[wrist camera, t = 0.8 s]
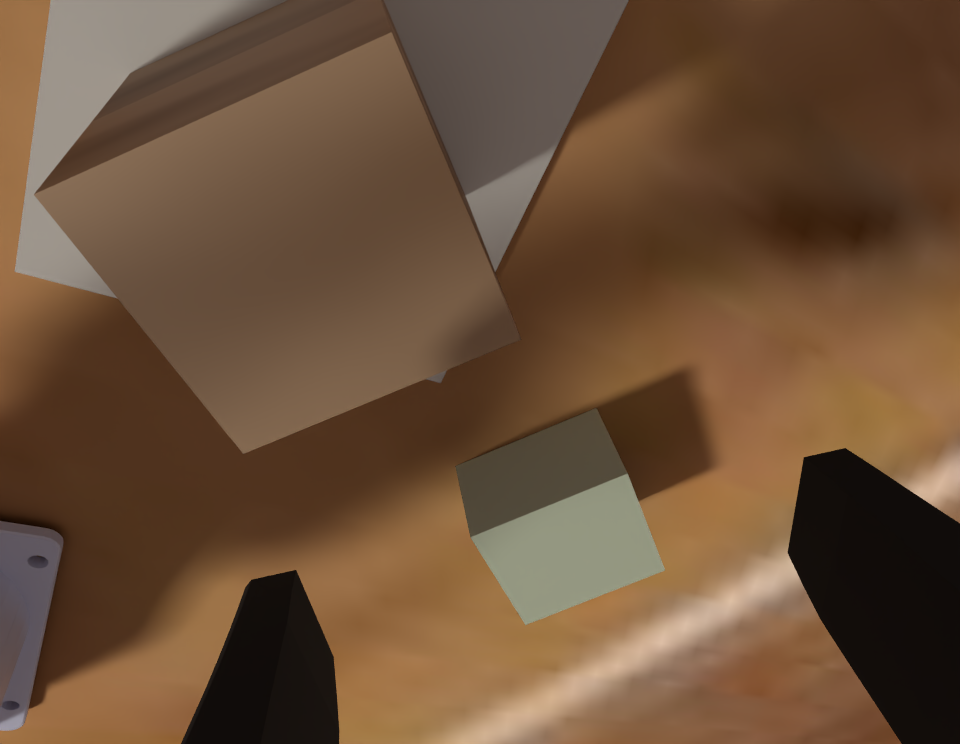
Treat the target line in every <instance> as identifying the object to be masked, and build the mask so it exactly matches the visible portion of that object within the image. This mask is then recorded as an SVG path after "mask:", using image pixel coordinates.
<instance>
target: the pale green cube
mask: <svg viewBox="0 0 960 744" xmlns="http://www.w3.org/2000/svg"><path fill="white" fill-rule="evenodd" d="M456 471H457V476H458V480H459V485H460V490H461V495H462V499H463V504H464V509H465V514H466V518H467V523H468V528H469V533H470V537H471V539H472V540H473V542H474V544H475V545H476V547H477V548H478V550H479V552H480V553H481V555H482V556H483V558H484V560H485V561H486V563H487V564H488V566H489V567H490V569H491V571H492V572H493V574H494V575H495V577H496V579H497V580H498V582H499V583H500V585H501V587H502V588H503V590H504V591H505V593H506V595H507V596H508V598H509V599H510V601H511V602H512V604H513V606H514V607H515V609H516V610H517V612H518V614H519V615H520V617H521V618H522V620H523V622H524V623H525V625H527V624H529V623H532V622H534V621H537V620H539V619H542V618H545V617H547V616H550V615H552V614H555V613H557V612H560V611H562V610H565V609H567V608H570V607H573V606H575V605H578V604H580V603H583V602H585V601H588V600H590V599H593V598H596V597H598V596H601V595H603V594H606V593H608V592H611V591H613V590H616V589H619V588H621V587H624V586H626V585H629V584H631V583H634V582H636V581H639V580H642V579H644V578H647V577H649V576H652V575H654V574H657V573H659V572H662V571H665V569H664V566H663V564H662V561H661V559H660V556H659V553H658V551H657V548H656V546H655V543H654V540H653V538H652V535H651V533H650V530H649V527H648V525H647V522H646V520H645V517H644V515H643V512H642V509H641V507H640V504H639V502H638V499H637V496H636V494H635V491H634V489H633V486H632V484H631V481H630V478H629V476H628V473H627V471H626V469H625V467H624V465H623V463H622V461H621V459H620V456H619V454H618V452H617V450H616V448H615V446H614V444H613V442H612V440H611V438H610V435H609V433H608V431H607V429H606V427H605V425H604V423H603V421H602V419H601V416H600V414H599V412H598V410H597V408H595V409H593V410H590V411H588V412H585V413H583V414H580V415H578V416H576V417H573V418H571V419H568V420H566V421H564V422H561V423H559V424H556V425H554V426H551V427H549V428H547V429H544V430H542V431H539V432H537V433H535V434H532V435H530V436H527V437H525V438H522V439H520V440H518V441H515V442H513V443H510V444H508V445H506V446H503V447H501V448H498V449H496V450H493V451H491V452H489V453H486V454H484V455H481V456H479V457H477V458H474V459H472V460H469V461H467V462H464V463H462V464H460V465H457V466H456Z"/></svg>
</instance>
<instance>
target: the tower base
mask: <svg viewBox="0 0 960 744" xmlns="http://www.w3.org/2000/svg"><path fill="white" fill-rule="evenodd" d="M353 1H355V0H287V1H285V2H283V3H281V4H279V5H277V6H274V7H272V8H270V9H268V10H266V11H264V12H261V13H259V14H257V15H255V16H253V17H251V18H249V19H246V20H244V21H242V22H240V23H238V24H236V25H233V26H231V27H229V28H227V29H225V30H223V31H220V32H218V33H216V34H214V35H212V36H210V37H207V38H205V39H203V40H201V41H199V42H197V43H195V44H192V45H190V46H188V47H186V48H184V49H182V50H179V51H177V52H175V53H173V54H171V55H169V56H166V57H164V58H162V59H160V60H158V61H156V62H154V63H151V64H149V65H147V66H145V67H143V68H141V69H138V70H136V71H134V72H132V73H130V74H129V75H128V77H127V78H126V79H125V80H124V82H123V83H122V84H121V85H120V87H119V88H118V89H117V90H116V92H115V93H114V94H113V96H112V97H111V98H110V99H109V101H108V102H107V103H106V104H105V106H104V107H103V108H102V109H101V111H100V112H99V113H98V114H97V116H96V117H95V118H94V119H93V121H94V120H97V119H99V118H101V117H103V116H105V115H107V114H110V113H112V112H114V111H116V110H118V109H121V108H123V107H125V106H127V105H129V104H131V103H134V102H136V101H138V100H140V99H142V98H144V97H147V96H149V95H151V94H153V93H155V92H158V91H160V90H162V89H164V88H166V87H168V86H171V85H173V84H175V83H177V82H179V81H181V80H184V79H186V78H188V77H190V76H192V75H195V74H197V73H199V72H201V71H203V70H205V69H208V68H210V67H212V66H214V65H216V64H218V63H221V62H223V61H225V60H227V59H229V58H231V57H234V56H236V55H238V54H240V53H242V52H245V51H247V50H249V49H251V48H253V47H255V46H258V45H260V44H262V43H264V42H266V41H268V40H271V39H273V38H275V37H277V36H279V35H282V34H284V33H286V32H288V31H290V30H292V29H295V28H297V27H299V26H301V25H303V24H305V23H308V22H310V21H312V20H314V19H316V18H319V17H321V16H323V15H325V14H327V13H329V12H332V11H334V10H336V9H338V8H340V7H342V6H345V5H347V4H349V3H351V2H353ZM382 2H383V5H384V7H385V9H386V12H387V14H388V17H389V19H390V21H391V24H392V26H393V28H394V31H395V33H396V36H397V38H398V40H399V43H400V45H401V48H402V50H403V52H404V55H405V57H406V59H407V62H408V64H409V67H410V69H411V71H412V74H413V76H414V79H415V81H416V83H417V86H418V88H419V90H420V93H421V95H422V98H423V100H424V102H425V105H426V107H427V110H428V112H429V114H430V117H431V119H432V121H433V124H434V126H435V129H436V131H437V133H438V136H439V138H440V141H441V143H442V145H443V148H444V150H445V153H446V155H447V157H448V160H449V162H450V164H451V167H452V169H453V172H454V174H455V176H456V179H457V181H458V184H459V186H460V188H461V191H462V193H463V195H464V198H465V200H466V203H467V205H468V207H469V210H470V212H471V215H472V217H473V219H474V216H473V214H472V211H471V209H470V206H469V204H468V201H467V198H466V196H465V193H464V191H463V189H462V186H461V184H460V181H459V179H458V177H457V174H456V172H455V169H454V167H453V165H452V162H451V160H450V157H449V155H448V153H447V150H446V148H445V145H444V143H443V141H442V138H441V136H440V134H439V131H438V129H437V126H436V124H435V122H434V119H433V117H432V114H431V112H430V110H429V107H428V105H427V102H426V100H425V98H424V95H423V93H422V90H421V88H420V86H419V83H418V81H417V78H416V76H415V74H414V71H413V69H412V66H411V64H410V62H409V59H408V57H407V54H406V52H405V50H404V47H403V45H402V42H401V40H400V38H399V35H398V33H397V31H396V28H395V26H394V23H393V21H392V19H391V16H390V14H389V11H388V9H387V7H386V4H385V2H384V0H382ZM474 222H475V219H474ZM475 224H476V222H475ZM476 226H477V224H476ZM477 229H478V227H477ZM478 231H479V229H478ZM479 234H480V232H479ZM480 236H481V234H480ZM481 238H482V237H481ZM482 241H483V240H482ZM483 243H484V242H483ZM484 246H485V245H484ZM485 248H486V247H485ZM487 253H488V252H487Z"/></svg>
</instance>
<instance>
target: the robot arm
mask: <svg viewBox="0 0 960 744" xmlns="http://www.w3.org/2000/svg"><path fill="white" fill-rule="evenodd" d="M63 544H64V542H63V538H62V536H61V535H60V534H59V533H57V532H56V531H54V530H52V529H48V528H43V527H36V526H30V525H23V524H17V523H10V522H4V521H0V730H5V731H6V730H15V729H18V728H20V727H21V726H23V724H24V723H25V720H26V717H27V713H28V709H29V704H30V699H31V695H32V690H33V685H34V680H35V676H36V671H37V666H38V662H39V657H40V652H41V647H42V643H43V638H44V633H45V629H46V624H47V619H48V614H49V610H50V605H51V600H52V596H53V591H54V586H55V582H56V577H57V572H58V567H59V563H60V558H61V553H62V549H63ZM788 554H789V557H790V559H791V561H792V563H793V565H794V567H795V569H796V571H797V573H798V575H799V578H800V580H801V582H802V584H803V586H804V588H805V590H806V592H807V594H808V596H809V598H810V600H811V602H812V604H813V606H814V608H815V610H816V611H817V613H818V615H819V617H820V619H821V621H822V622H823V624H824V625H825V627H826V629H827V630H828V632H829V633H830V635H831V636H832V638H833V640H834V641H835V643H836V644H837V646H838V647H839V649H840V650H841V652H842V653H843V655H844V656H845V658H846V660H847V661H848V663H849V664H850V666H851V667H852V669H853V670H854V672H855V673H856V675H857V676H858V678H859V679H860V681H861V682H862V684H863V686H864V687H865V689H866V690H867V692H868V693H869V695H870V696H871V698H872V699H873V701H874V702H875V704H876V705H877V707H878V708H879V710H880V711H881V713H882V714H883V716H884V717H885V719H886V720H887V722H888V723H889V725H890V727H891V728H892V730H893V731H894V733H895V734H896V736H897V737H898V739H899V740H900V742H901V743H902V744H960V523H958V522H957V521H955V520H954V519H952V518H950V517H949V516H947V515H946V514H944V513H943V512H941V511H940V510H938V509H937V508H935V507H934V506H932V505H931V504H929V503H928V502H926V501H925V500H923V499H922V498H920V497H919V496H917V495H916V494H914V493H913V492H911V491H910V490H908V489H907V488H905V487H904V486H902V485H901V484H899V483H898V482H896V481H895V480H893V479H892V478H890V477H889V476H887V475H886V474H884V473H883V472H881V471H880V470H878V469H877V468H875V467H873V466H872V465H870V464H869V463H867V462H866V461H864V460H863V459H861V458H860V457H858V456H857V455H855V454H854V453H852V452H850V451H849V450H847V449H846V448H844V449H839V450H835V451H830V452H826V453H821V454H817V455H812V456H808V457H804V460H803V466H802V472H801V478H800V484H799V489H798V495H797V501H796V507H795V513H794V519H793V525H792V530H791V536H790V542H789V548H788ZM38 556H42V557H38ZM181 744H339V721H338V706H337V693H336V681H335V669H334V657H333V655H332V652H331V650H330V648H329V645H328V643H327V641H326V638H325V636H324V634H323V631H322V629H321V627H320V624H319V622H318V620H317V617H316V615H315V613H314V610H313V608H312V606H311V604H310V601H309V599H308V597H307V594H306V592H305V590H304V587H303V585H302V583H301V580H300V578H299V576H298V573H297V571H296V570H294V571H289V572H285V573H280V574H276V575H271V576H267V577H262V578H258V579H253V580H251V581H250V582H249V584H248V585H247V586H246V588H245V590H244V593H243V596H242V599H241V601H240V604H239V607H238V610H237V612H236V615H235V618H234V620H233V623H232V625H231V628H230V631H229V633H228V636H227V638H226V641H225V643H224V646H223V648H222V651H221V653H220V656H219V658H218V661H217V663H216V665H215V668H214V670H213V673H212V675H211V677H210V680H209V682H208V685H207V687H206V689H205V691H204V694H203V696H202V698H201V700H200V703H199V705H198V707H197V709H196V712H195V714H194V716H193V718H192V720H191V723H190V725H189V727H188V729H187V732H186V734H185V736H184V738H183V741H182V743H181Z"/></svg>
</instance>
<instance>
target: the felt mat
mask: <svg viewBox="0 0 960 744" xmlns="http://www.w3.org/2000/svg"><path fill="white" fill-rule="evenodd" d="M285 1H287V0H51V3H50V11H49V18H48V26H47V33H46V41H45V49H44V56H43V64H42V71H41V79H40V86H39V94H38V101H37V109H36V116H35V124H34V131H33V139H32V146H31V154H30V161H29V169H28V176H27V184H26V191H25V199H24V206H23V214H22V222H21V229H20V237H19V244H18V252H17V259H16V267H15V272H18V273H22V274H26V275H30V276H34V277H37V278H41V279H45V280H49V281H53V282H56V283H60V284H64V285H68V286H72V287H76V288H79V289H83V290H87V291H91V292H95V293H98V294H102V295H106V296H110V297H114V298H117V297H116V296H115V295H114V293H113V292H112V291H111V290H110V288H109V287H108V286H107V285H106V283H105V282H104V281H103V280H102V279H101V277H100V276H99V275H98V274H97V272H96V271H95V270H94V269H93V267H92V266H91V265H90V264H89V262H88V261H87V260H86V259H85V257H84V256H83V255H82V254H81V253H80V251H79V250H78V249H77V248H76V246H75V245H74V244H73V243H72V241H71V240H70V239H69V238H68V236H67V235H66V234H65V233H64V232H63V230H62V229H61V228H60V227H59V225H58V224H57V223H56V222H55V220H54V219H53V218H52V217H51V215H50V214H49V213H48V212H47V210H46V209H45V208H44V207H43V206H42V204H41V203H40V202H39V201H38V199H37V198H36V197H35V196H34V193H35V192H36V191H37V190H38V188H39V187H40V186H41V185H42V183H43V182H44V181H45V180H46V178H47V177H48V176H49V175H50V173H51V172H52V171H53V170H54V168H55V167H56V166H57V165H58V163H59V162H60V161H61V160H62V158H63V157H64V156H65V155H66V153H67V152H68V151H69V149H70V148H71V147H72V146H73V144H74V143H75V142H76V141H77V139H78V138H79V137H80V136H81V134H82V133H83V132H84V131H85V129H86V128H87V127H88V126H89V124H90V123H91V122H92V121H93V119H94V118H95V117H96V116H97V114H98V113H99V112H100V111H101V109H102V108H103V107H104V106H105V104H106V103H107V102H108V101H109V99H110V98H111V97H112V96H113V94H114V93H115V92H116V90H117V89H118V88H119V87H120V85H121V84H122V83H123V82H124V80H125V79H126V78H127V77H128V75H129V74H130V73H132V72H134V71H136V70H138V69H141V68H143V67H145V66H147V65H149V64H151V63H154V62H156V61H158V60H160V59H162V58H164V57H166V56H169V55H171V54H173V53H175V52H177V51H179V50H182V49H184V48H186V47H188V46H190V45H192V44H195V43H197V42H199V41H201V40H203V39H205V38H207V37H210V36H212V35H214V34H216V33H218V32H220V31H223V30H225V29H227V28H229V27H231V26H233V25H236V24H238V23H240V22H242V21H244V20H246V19H249V18H251V17H253V16H255V15H257V14H259V13H261V12H264V11H266V10H268V9H270V8H272V7H274V6H277V5H279V4H281V3H283V2H285ZM628 1H629V0H384V2H385V4H386V7H387V9H388V11H389V14H390V16H391V19H392V21H393V23H394V26H395V28H396V31H397V33H398V35H399V38H400V40H401V42H402V45H403V47H404V50H405V52H406V54H407V57H408V59H409V62H410V64H411V66H412V69H413V71H414V74H415V76H416V78H417V81H418V83H419V86H420V88H421V90H422V93H423V95H424V98H425V100H426V102H427V105H428V107H429V110H430V112H431V114H432V117H433V119H434V122H435V124H436V126H437V129H438V131H439V134H440V136H441V138H442V141H443V143H444V145H445V148H446V150H447V153H448V155H449V157H450V160H451V162H452V165H453V167H454V169H455V172H456V174H457V177H458V179H459V181H460V184H461V186H462V189H463V191H464V193H465V196H466V198H467V201H468V204H469V206H470V209H471V211H472V214H473V216H474V219H475V222H476V224H477V227H478V229H479V232H480V234H481V237H482V240H483V242H484V245H485V247H486V250H487V252H488V255H489V258H490V260H491V263H492V265H493V268H494V270H495V272H496V269H497V267H498V265H499V263H500V261H501V259H502V257H503V255H504V253H505V251H506V249H507V247H508V245H509V243H510V241H511V239H512V237H513V235H514V233H515V231H516V229H517V227H518V225H519V223H520V221H521V219H522V217H523V215H524V212H525V210H526V208H527V206H528V204H529V202H530V200H531V198H532V196H533V194H534V192H535V190H536V188H537V186H538V184H539V182H540V180H541V178H542V176H543V174H544V172H545V170H546V168H547V166H548V164H549V162H550V160H551V158H552V156H553V153H554V151H555V149H556V147H557V145H558V143H559V141H560V139H561V137H562V135H563V133H564V131H565V129H566V127H567V125H568V123H569V121H570V119H571V117H572V115H573V113H574V111H575V109H576V107H577V105H578V103H579V101H580V99H581V97H582V94H583V92H584V90H585V88H586V86H587V84H588V82H589V80H590V78H591V76H592V74H593V72H594V70H595V68H596V66H597V64H598V62H599V60H600V58H601V56H602V54H603V52H604V50H605V48H606V46H607V44H608V42H609V40H610V37H611V35H612V33H613V31H614V29H615V27H616V25H617V23H618V21H619V19H620V17H621V15H622V13H623V11H624V9H625V7H626V5H627V3H628ZM446 371H447V370H446ZM446 371H444V372H441V373H439V374H436V375H434V376H431V377H429V378H427V380H431V381H434V382H438V383H441V381H442V379H443V377H444V375H445V373H446Z"/></svg>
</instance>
